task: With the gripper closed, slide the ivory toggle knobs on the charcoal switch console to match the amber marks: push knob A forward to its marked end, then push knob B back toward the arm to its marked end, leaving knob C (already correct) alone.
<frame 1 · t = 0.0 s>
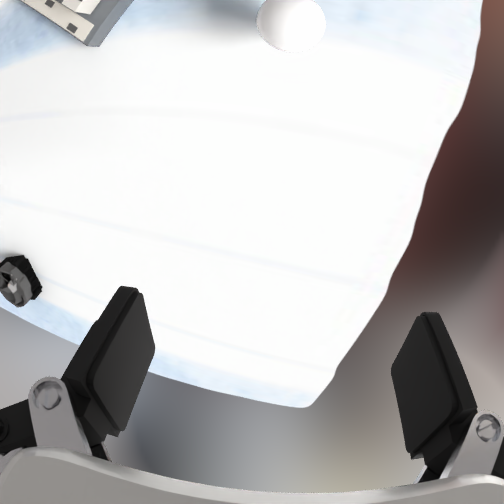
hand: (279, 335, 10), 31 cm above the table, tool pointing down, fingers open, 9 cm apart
cpu cooler: (24, 273, 54), on the table
lightbulb: (289, 33, 29), on the table
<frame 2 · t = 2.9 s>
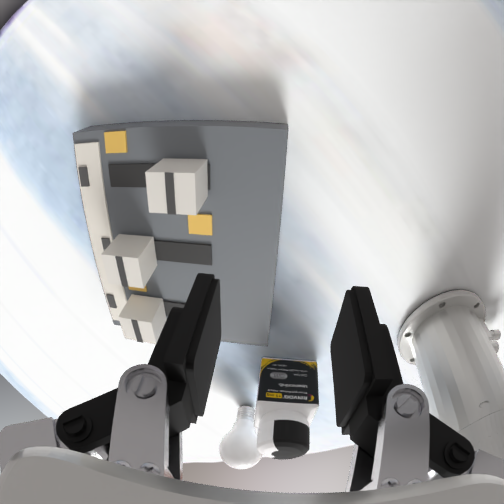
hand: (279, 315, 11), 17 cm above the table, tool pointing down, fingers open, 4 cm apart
switch A: (178, 185, 22), point 5 cm above the table, slide at 0.0 cm
medicine bottle: (286, 373, 40), on the table
console: (184, 235, 30), on the table
switch B: (130, 260, 26), point 5 cm above the table, slide at 5.0 cm
switch C: (143, 319, 29), point 5 cm above the table, slide at 5.0 cm
lightbulb: (247, 405, 45), on the table
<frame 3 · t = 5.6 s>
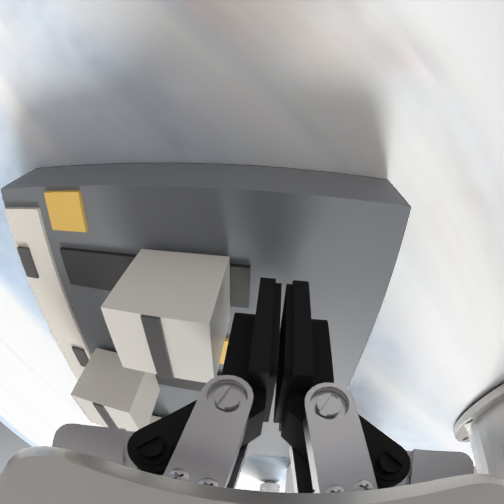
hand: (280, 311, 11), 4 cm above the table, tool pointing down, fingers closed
switch A: (173, 314, 11), point 5 cm above the table, slide at 0.6 cm, touching gripper
medicine bottle: (321, 459, 29), on the table
console: (197, 339, 19), on the table
switch B: (117, 393, 15), point 5 cm above the table, slide at 5.0 cm
switch C: (146, 442, 18), point 5 cm above the table, slide at 5.0 cm
lightbulb: (270, 480, 34), on the table
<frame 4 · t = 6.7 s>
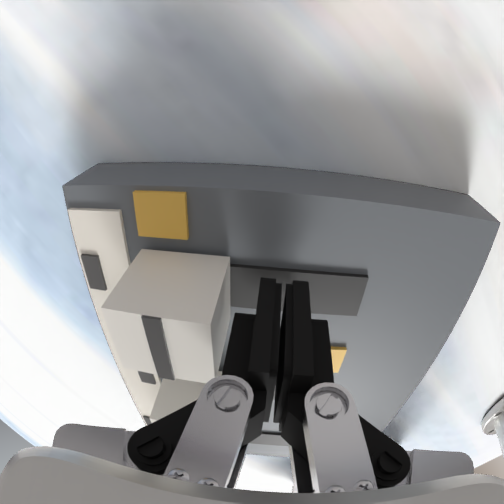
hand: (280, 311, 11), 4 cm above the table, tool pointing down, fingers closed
switch A: (174, 314, 11), point 5 cm above the table, slide at 5.1 cm, touching gripper
console: (270, 347, 19), on the table
switch B: (196, 410, 14), point 5 cm above the table, slide at 5.0 cm
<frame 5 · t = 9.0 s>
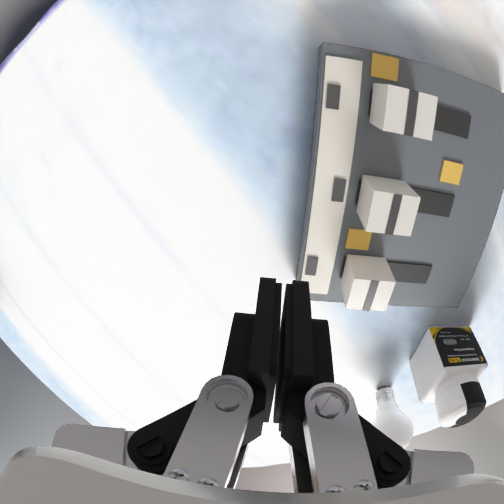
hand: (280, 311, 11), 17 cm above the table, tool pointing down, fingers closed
switch A: (402, 109, 17), point 5 cm above the table, slide at 5.1 cm
medicine bottle: (439, 343, 35), on the table
console: (406, 187, 25), on the table
switch B: (386, 204, 21), point 5 cm above the table, slide at 5.0 cm
switch C: (366, 282, 25), point 5 cm above the table, slide at 5.0 cm
lightbulb: (383, 387, 40), on the table
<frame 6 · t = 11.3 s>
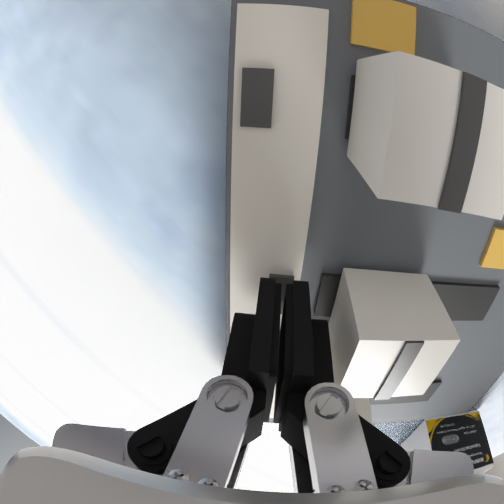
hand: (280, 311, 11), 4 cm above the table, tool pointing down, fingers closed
switch A: (431, 128, 6), point 5 cm above the table, slide at 5.1 cm
medicine bottle: (436, 428, 24), on the table
console: (415, 262, 14), on the table
switch B: (387, 334, 10), point 5 cm above the table, slide at 4.5 cm, touching gripper
switch C: (329, 425, 14), point 5 cm above the table, slide at 5.0 cm
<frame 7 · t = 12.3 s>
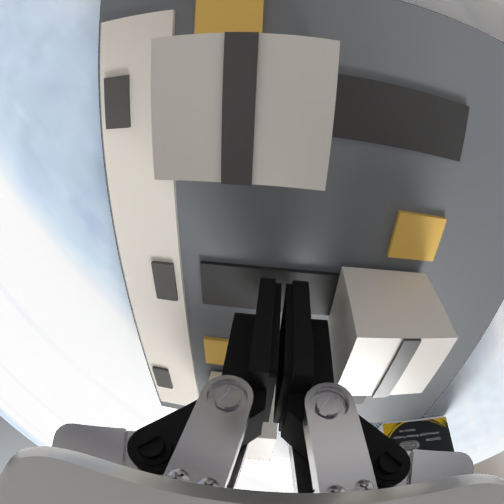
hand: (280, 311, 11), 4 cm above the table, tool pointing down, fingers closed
switch A: (249, 102, 7), point 5 cm above the table, slide at 5.1 cm
medicine bottle: (400, 432, 25), on the table
console: (330, 253, 15), on the table
switch B: (385, 333, 10), point 5 cm above the table, slide at 0.0 cm, touching gripper
switch C: (240, 418, 14), point 5 cm above the table, slide at 5.0 cm
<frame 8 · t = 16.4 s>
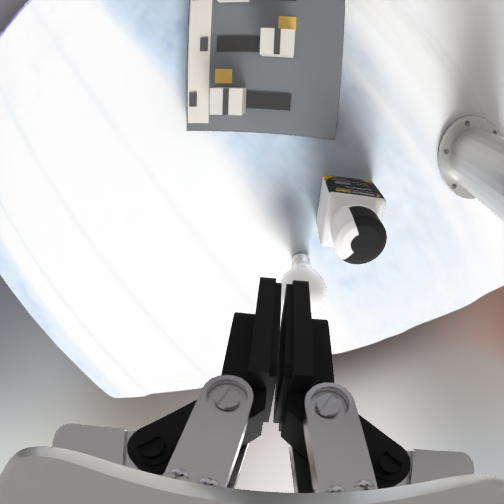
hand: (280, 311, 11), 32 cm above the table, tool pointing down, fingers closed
medicine bottle: (343, 200, 42), on the table
console: (265, 47, 32), on the table
switch B: (277, 43, 28), point 5 cm above the table, slide at -0.1 cm
switch C: (228, 100, 32), point 5 cm above the table, slide at 5.0 cm
lightbulb: (300, 257, 48), on the table
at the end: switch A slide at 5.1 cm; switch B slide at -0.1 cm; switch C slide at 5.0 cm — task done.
